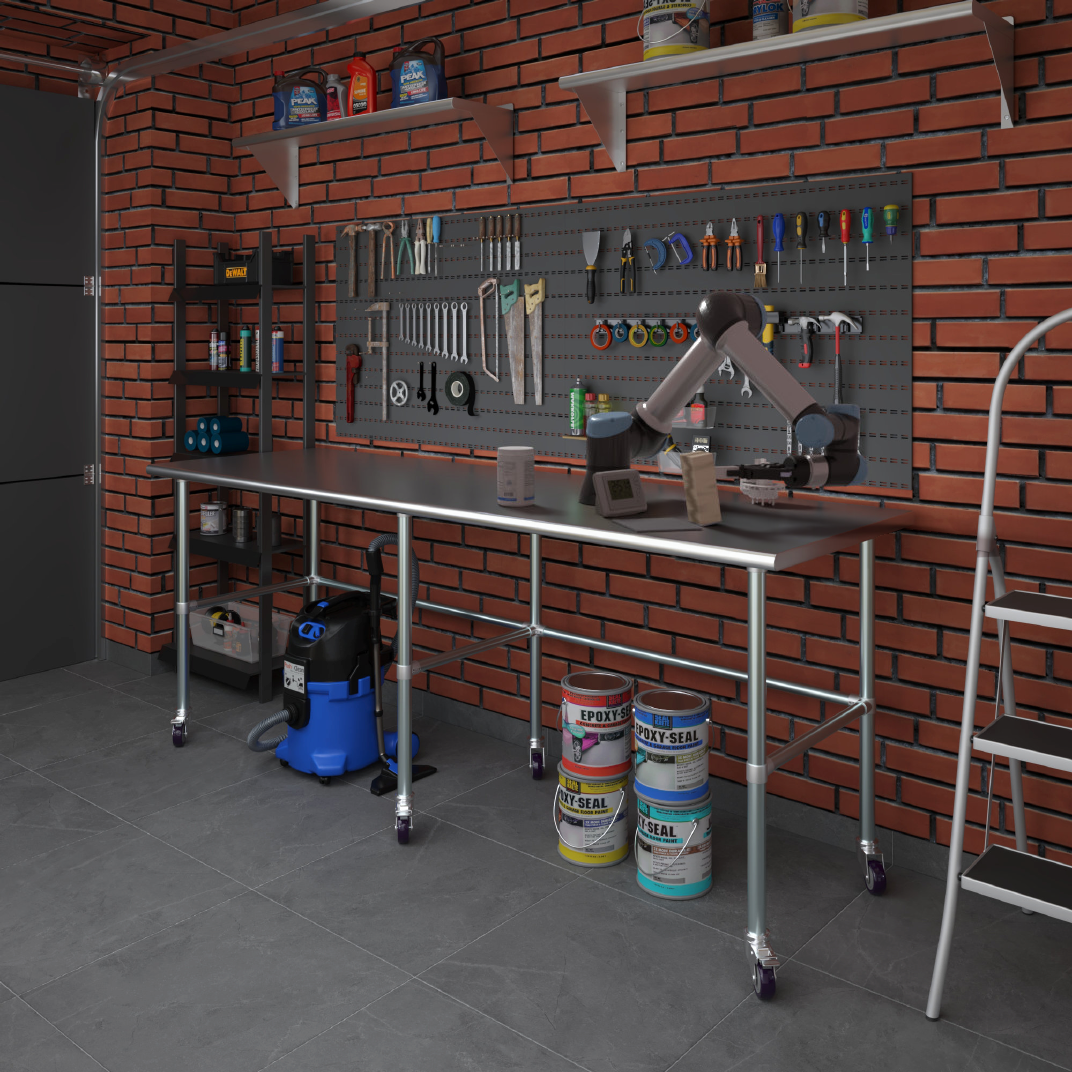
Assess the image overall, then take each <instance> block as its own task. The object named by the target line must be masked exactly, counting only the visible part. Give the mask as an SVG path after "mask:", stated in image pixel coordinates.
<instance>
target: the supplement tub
mask: <svg viewBox="0 0 1072 1072" xmlns="http://www.w3.org/2000/svg"><path fill="white" fill-rule="evenodd" d="M496 457H497V458H496V462H497V465H496V470H497V471H496V474H497V475H496V477H497V479H496V480H497V481H496V484H497V489H496V490H497V504H498V505H500V506H502V507H509V508H510V507H511V508H513V507H514V508H518V507H519V508H522V507H530V506H533V505H534V504H535V491H536V490H535V450H534V447H532V446H521V445H520V446H518V445H517V446H515V445H514V446H513V445H511V446H509V445H508V446H499V447H498V448H497V454H496Z"/></svg>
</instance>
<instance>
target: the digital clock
mask: <svg viewBox="0 0 1072 1072" xmlns="http://www.w3.org/2000/svg"><path fill="white" fill-rule="evenodd" d="M641 479H642V478H641V476H640V472H639V470H638V469H635V468H630V469H627V470H626V469H623V470H613V471H604V472H597V473H595V474H594V475H593V483H594V487H595V491H596V501H595V505H594V506H595V508H594V514H595V515H600V516H602V517H604V518H610V517H614V518H615V517H621V516H623V517H624V516H629V515H636V514H638V513H644V512H646V511H647V509H648V504H647V499H646V495H645V492H644V487H643V484H642V480H641Z"/></svg>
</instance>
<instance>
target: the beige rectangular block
mask: <svg viewBox="0 0 1072 1072" xmlns="http://www.w3.org/2000/svg"><path fill="white" fill-rule="evenodd" d="M679 460H680V466H681V467H680V469H681V473H682V476H681V477H682V482H683V488H684V495H685V502H686V503H685V504H686V509H687V510H686V511H687V517H688V523H689V524H692V525H695V526H697V527H700V528H702V527H707V526H710V525H715V524H718V523H719V524H720V523H722V515H721V507H720V500H719V492H718V484H717V483H718V482H717V479H716V476H715V468H714V467H715V461H714V454H713V453H712V452H707V451H703V450H696V451H691V452H686V453H682V454H679Z"/></svg>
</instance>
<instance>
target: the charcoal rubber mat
mask: <svg viewBox="0 0 1072 1072" xmlns="http://www.w3.org/2000/svg"><path fill="white" fill-rule="evenodd" d="M611 522H613V523H614V524H617V525H619V526H621V527H624V528H626V529H628V530H631V531H633V532H635V533H653V532H654V533H655V532H659V533H660V532H680V531H682V532H685V531H687V532H689V531H702V530H703V528H702V527H701V526H698V525H696V524H693V523H690V522H686V521H683V520H681V519H678V518H675V517H650V518H623V519H622V518H621V519H619V518H618V519H617V518H616V519H613V518H612V519H611Z"/></svg>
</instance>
